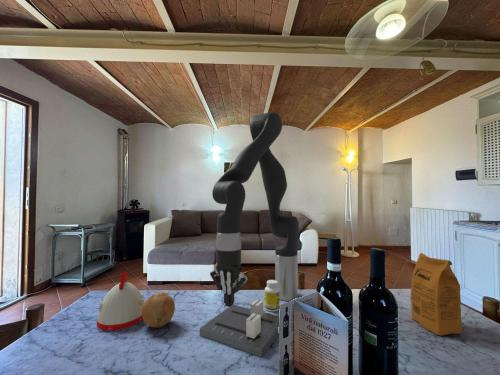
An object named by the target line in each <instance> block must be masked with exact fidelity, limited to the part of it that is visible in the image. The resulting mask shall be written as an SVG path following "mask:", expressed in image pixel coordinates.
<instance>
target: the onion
mask: <svg viewBox="0 0 500 375" xmlns="http://www.w3.org/2000/svg"><path fill="white" fill-rule="evenodd" d="M175 311H176V303H175V301H174V298H173V297H172V296H171V295H169V294H168V293H166V292H164V291H163V292H157V293H156V292H155V293H154V294H153V293H152V294H151V295H150V296H149V297H147V299H146V300H144V305H143V308H142V318H143V319H142V320H143V322H144V324H145V325H146V326H148V327H151V328H153V329H154V328H162V327H164V326H166V324H168V323H169V322H170V321H171V320H172V318H173V317H174V315H175Z"/></svg>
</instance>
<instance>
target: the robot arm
mask: <svg viewBox="0 0 500 375" xmlns="http://www.w3.org/2000/svg"><path fill="white" fill-rule="evenodd" d="M282 129H283V121H282V118H281V116H280V115H279V114H278V113H277V112H275V111H274V112H273V111H272V112H271V111H270V112H266V113H261V114H257V115H254V116H252V117H251V118H250V121H249V131H250V135H251V140H252V141H251V143H249V144H248V145H247V146H245V147H244V148H243V149H242V150H241V151H240V152H239V154H238V155H237V156H236V157H235V159H234V161H233V163H232V164H231V166H230V168H229V169H228V170H226V171H225V172H224V173H223V174H222V176H220V178H219V179H218V180H217V181H216V182H215V184H214V186H213V189H212V195H211V196H212V199H213V201H215V203H217V204H220V205H225V209H224V211H222V212H220V213H219V214H218V215H217V217H216V239H215V241H216V245H215V246H216V247H215V248H216V249H215V252H216V253H215V255H216V256H215V258H216V261H215V262H216V267H215V269H214V270H213V271H211V272H210V273H209V275H210V277H211V279H212V281H213V282H214V284H215V286H216V288H217V290H218V291H221V292H222V293H223V304H224V306H225V307H226V308H229V307H231V306H232V305H235V294H236V293H238V292H240V291H241V289H242V288H243V287H244V285H245V284H246V283H247V281H248V280H249V279H250V278H249V276H248V275H247V274H246V275H245V274H244V273H243V269H242V266H241V265H242V236H241V217H242V214H243V208H244V205H245V201H246V190H245V186H244V185H243V184H244V183H247V182H248V181H249V179H250V178H251V176H252V174H253V173H254V170H255V168H256V166H257V165H258V163H259V169H260V171H261V178H262V183H263V187H264V191H265V197H266V201H267V206H268V215H269V221H270V223H269V224H270V230H271V232H272V235H273V236H274V237H277V238H283V239H286V243H284V244H281V245H279V246H275V248H274V249H275V251H274V253H275V254H274V258H275V261H274V262H275V264H274V265H275V267H274V270H275V273H274V276H275V277H274V278H275V279H274V280H276V281H277V282H278V286H277V287H278V288H279V291H280V297H279V301H280V300H281V301H285V302H287V301H288V302H292V301H291V300H293V299H295V298H297V299H298V297H299V286H298V284H299V282H298V279H299V277H298V275H299V274H298V273H299V271H298V269H299V265H298V264H299V263H298V262H299V261H298V258H299V256H298V252H299V251H298V250H299V235H300V226H299V225H300V223H299V220H298V218H297V217H296V216H295V215H294V216H293V215H282V214H281V208H280V207H281V203H282V200H283V198H284V196H285V194H286V190H287V188H288V180H287V175H286V171H285V168H284V167H283V165H282V163H280V162H279V161H280V160H278V159H277V158H276V156H275V155H274V154H273V152H272V151H271V148H270V147H271V145H273V143H274V142H275V141H276V140H277V138H278V137H279V136H280V134H281V132H282ZM237 281H238V282H237ZM293 301H294V300H293Z"/></svg>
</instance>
